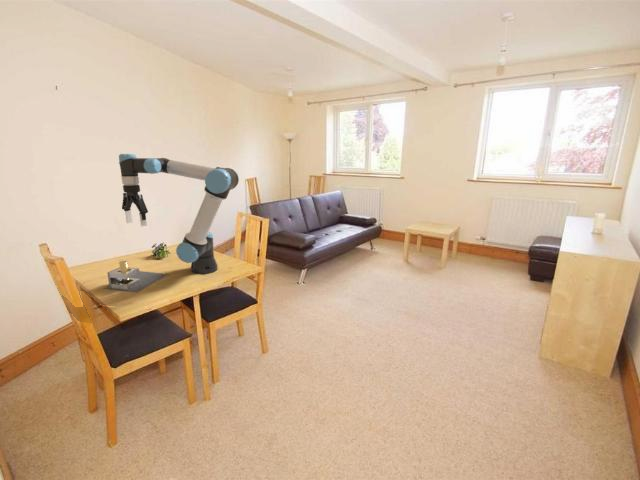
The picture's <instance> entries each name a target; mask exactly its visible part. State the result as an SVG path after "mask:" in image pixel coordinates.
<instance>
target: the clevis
mask: <svg viewBox="0 0 640 480" xmlns="http://www.w3.org/2000/svg"><path fill="white" fill-rule="evenodd" d="M128 269H129V271H128V272H125V273H124V272H121V271H120V266H119V267H116V268H115V269H112V270H110V271H108V272H107V279H108V286H110V288H111V289H120V290H130V289H131V288H133V287H135V286H137V285H139V284H141V280H140V279H136V278H130V277H132V276H134V275H136V274H138V273H139V271H140V268H139V267H131V266H128ZM128 278H130V282H129V283H127V284H124V283H122V279H128Z"/></svg>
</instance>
